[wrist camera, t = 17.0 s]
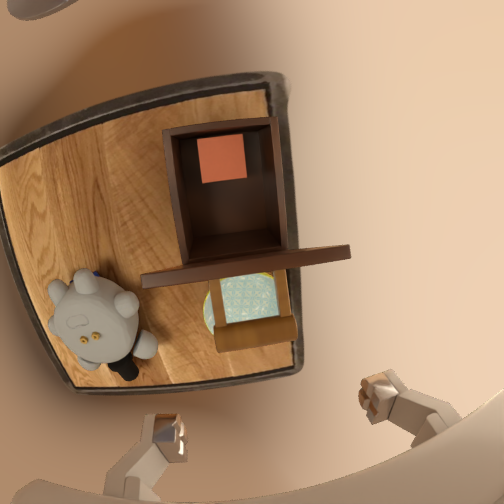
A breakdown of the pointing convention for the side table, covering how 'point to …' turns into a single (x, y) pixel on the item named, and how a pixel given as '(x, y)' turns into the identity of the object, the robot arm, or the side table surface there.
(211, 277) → the lid
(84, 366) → the figurine
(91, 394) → the side table surface
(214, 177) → the block
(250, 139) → the chest
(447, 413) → the robot arm
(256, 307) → the bowl
